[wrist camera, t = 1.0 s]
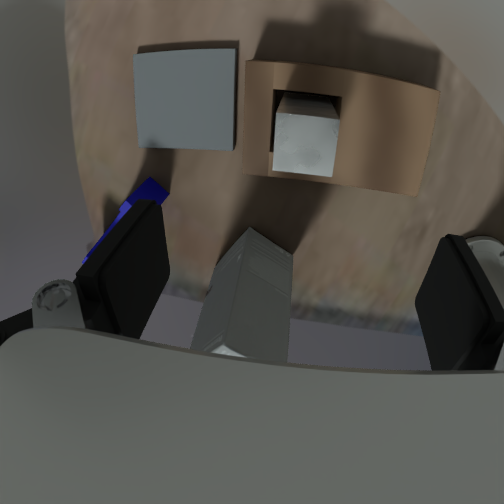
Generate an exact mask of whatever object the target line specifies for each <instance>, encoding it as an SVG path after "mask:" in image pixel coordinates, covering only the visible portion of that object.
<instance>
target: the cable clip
mask: <svg viewBox="0 0 504 504" xmlns="http://www.w3.org/2000/svg"><path fill="white" fill-rule="evenodd" d="M168 195H169V193H168V192H167V191H166V190H165V189H163V188H162V187H161V186H160V185H159V184H158V183H157V182H156V181H154V180H153V179H152V178H151V177H149V178H148V179H147V180H146V181H144V182H143V183H142V184H141V185H140V186H139V187H138V188H137V189H136V190H135V191H134V192H133V193H132V194H131V195H130V197H129V198H128V199H127V200H126V201H125V202H124V203H123V205H122V206H121V207H120V209H119V211H121V212H120V214H119V215H118V216H117V218H116V219H115V220H114V222H113V223H112V224H111V225H110V227H109V228H108V229H107V231H106V232H105V233H104V234H103V236H102V237H101V238H100V239H99V241H98V242H97V243H96V244H95V246H94V247H93V248H92V249H91V251H90V252H89V253H88V254H87V256H86V257H85V258H84V260H83V261H82V263H83V264H84V262H85V261H86V260H87V259H88V257H89V256H90V255H91V254H92V252H93V251H94V250H95V249H96V247H97V246H98V245H99V244H100V243H101V241H102V240H103V239H104V238H105V237H106V235H107V234H108V233H109V232H110V231H111V229H112V228H113V227H114V226H115V225H116V224H117V222H118V221H119V220H120V219H121V218H122V217H123V215H124V214H125V213H126V212H127V211H128V210H129V209H130V208H131V206H132V205H133V204H134V203H135V202H136V201H137V200H138V199H149V200H155V201H156V202H157V204H159V205H161V204H162V203H163V201H164V200H165V199H166V198H167V196H168Z"/></svg>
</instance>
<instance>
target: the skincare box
mask: <svg viewBox="0 0 504 504" xmlns="http://www.w3.org/2000/svg"><path fill="white" fill-rule="evenodd" d="M292 272H293V255H291V254H290V253H288V252H287V251H285V250H284V249H282V248H281V247H279V246H277V245H276V244H274V243H273V242H271V241H270V240H268V239H267V238H265V237H264V236H262V235H261V234H259V233H258V232H256V231H255V230H254V229H252V228H251V227H249V228H248V229H247V230H246V231H245V232H244V233H243V234H242V235H241V237H240V238H239V239H238V240H237V241H236V242H235V243H234V244H233V245H232V247H231V248H230V249H229V250H228V251H227V253H226V254H225V255H224V256H223V257H222V259H221V260H220V261H219V263H218V264H217V265H216V267H215V268H214V272H213V275H212V278H211V281H210V285H209V288H208V291H207V294H206V297H205V301H204V304H203V307H202V311H201V314H200V317H199V321H198V324H197V327H196V330H195V333H194V337H193V340H192V344H191V347H190V349H193V350H199V351H205V352H212V353H218V354H225V355H231V356H238V357H246V358H253V359H261V360H269V361H278V362H287V357H288V342H289V328H290V310H291V292H292Z"/></svg>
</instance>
